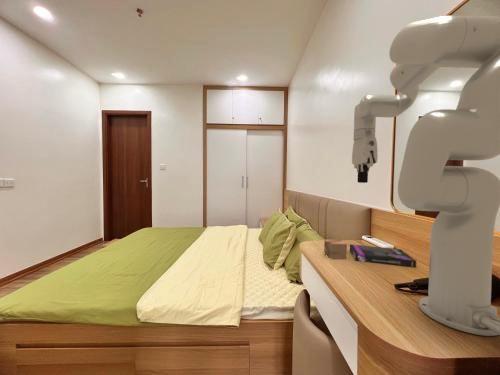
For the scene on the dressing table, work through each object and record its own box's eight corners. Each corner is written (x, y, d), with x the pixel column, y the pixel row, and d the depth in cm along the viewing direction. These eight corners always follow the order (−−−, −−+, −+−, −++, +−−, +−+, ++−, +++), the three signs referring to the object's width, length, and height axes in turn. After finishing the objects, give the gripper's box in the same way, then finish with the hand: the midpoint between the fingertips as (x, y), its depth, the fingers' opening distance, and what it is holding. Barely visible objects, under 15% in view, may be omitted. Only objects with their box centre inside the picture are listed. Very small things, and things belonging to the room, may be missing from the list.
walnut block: (338, 239, 89) (338, 254, 89) (324, 239, 89) (324, 254, 89) (346, 243, 83) (346, 259, 83) (331, 243, 83) (331, 259, 83)
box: (354, 263, 82) (416, 269, 76) (354, 253, 82) (417, 259, 76) (349, 252, 95) (402, 257, 90) (349, 244, 95) (402, 248, 90)
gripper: (386, 131, 80) (384, 182, 80) (362, 140, 94) (360, 183, 95) (366, 130, 79) (364, 181, 79) (345, 139, 94) (343, 182, 94)
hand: (362, 182), depth 87 cm, fingers closed
